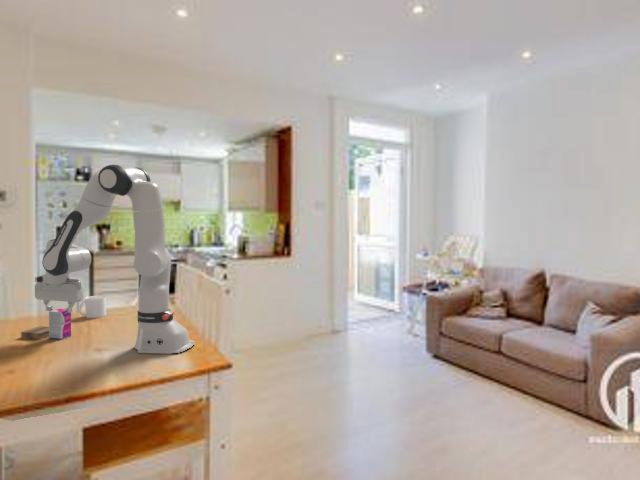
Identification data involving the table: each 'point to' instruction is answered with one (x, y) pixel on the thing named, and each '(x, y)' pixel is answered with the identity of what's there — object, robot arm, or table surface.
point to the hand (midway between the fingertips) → (59, 311)
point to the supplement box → (59, 324)
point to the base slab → (36, 333)
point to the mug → (94, 307)
